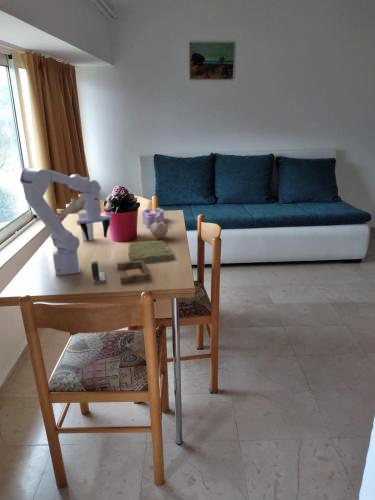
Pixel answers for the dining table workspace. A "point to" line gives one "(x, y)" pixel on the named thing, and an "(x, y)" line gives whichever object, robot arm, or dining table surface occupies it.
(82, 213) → the drinking glass
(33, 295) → the dining table surface
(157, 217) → the purple lobed block
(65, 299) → the dining table surface
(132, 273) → the salmon pink panel
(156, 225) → the decorative fruit
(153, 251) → the decorative tile
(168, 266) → the dining table surface
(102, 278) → the grey block
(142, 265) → the frame
